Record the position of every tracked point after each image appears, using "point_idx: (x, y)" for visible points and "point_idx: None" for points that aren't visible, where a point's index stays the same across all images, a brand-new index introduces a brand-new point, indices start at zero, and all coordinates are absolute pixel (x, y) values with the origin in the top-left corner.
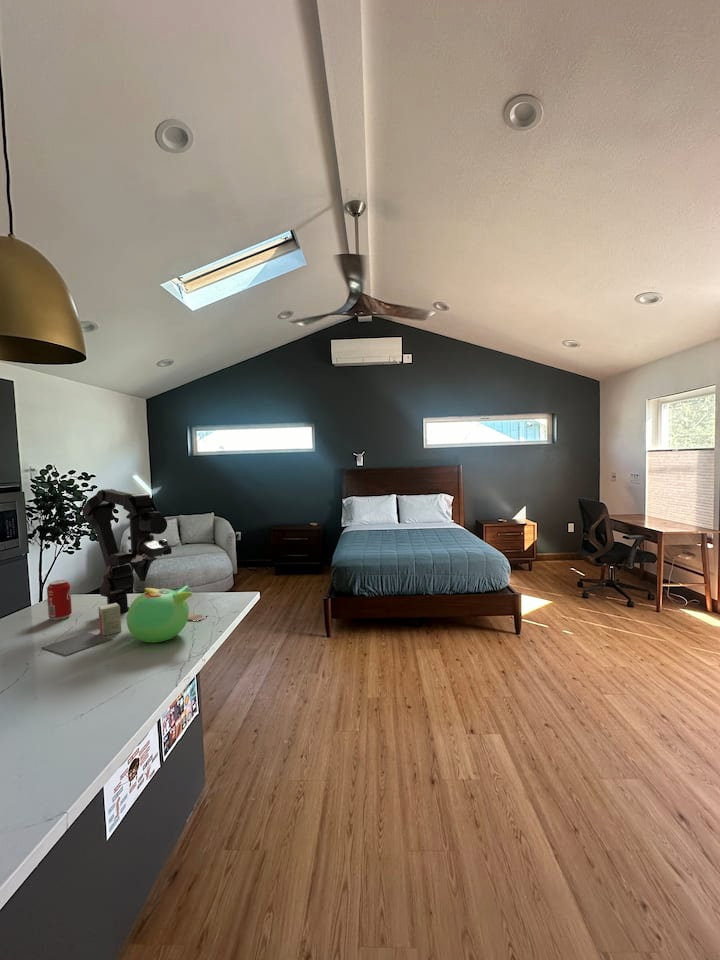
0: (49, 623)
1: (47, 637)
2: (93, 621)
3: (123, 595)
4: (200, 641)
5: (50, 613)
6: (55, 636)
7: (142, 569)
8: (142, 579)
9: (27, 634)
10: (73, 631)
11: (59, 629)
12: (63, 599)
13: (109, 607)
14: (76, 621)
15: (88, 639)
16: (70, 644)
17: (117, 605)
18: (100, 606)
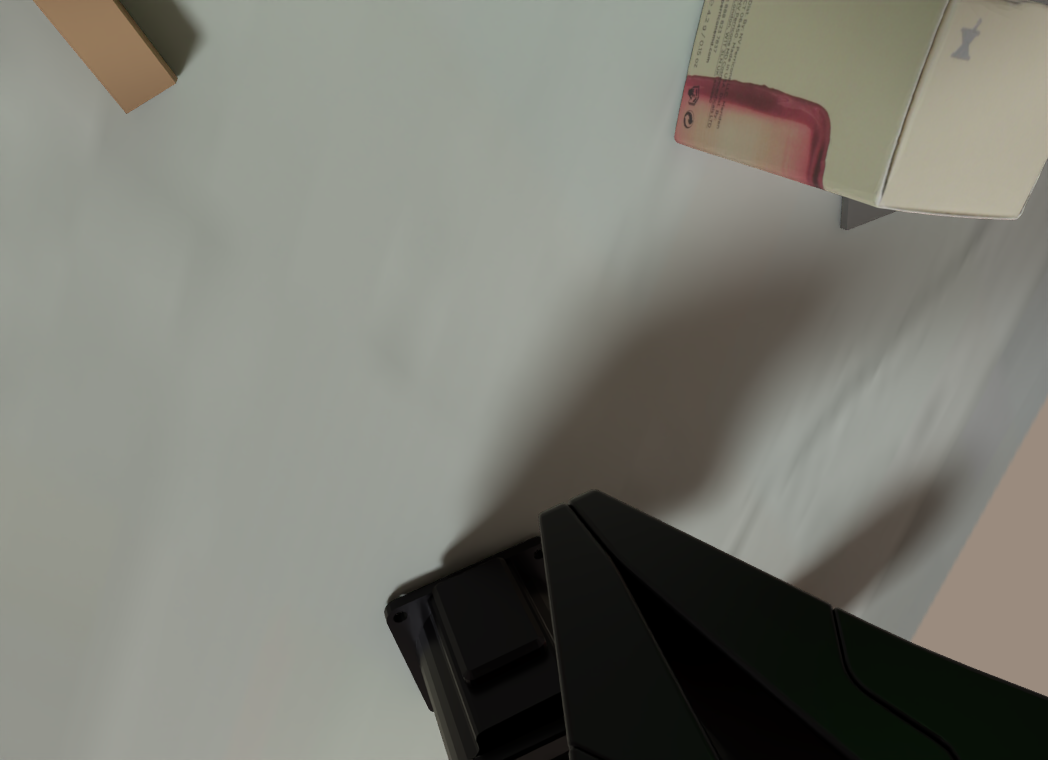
0: (818, 595)
1: (958, 340)
2: (687, 481)
3: (509, 698)
4: None
5: None
6: (936, 323)
7: (850, 695)
8: (627, 505)
9: (952, 473)
10: (849, 345)
11: (856, 450)
12: None
13: (1043, 22)
14: (738, 548)
15: None
16: (1040, 2)
17: (965, 21)
18: (1021, 194)
